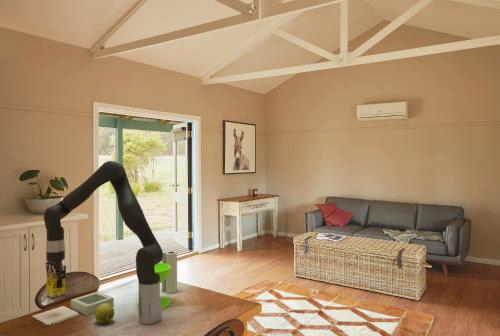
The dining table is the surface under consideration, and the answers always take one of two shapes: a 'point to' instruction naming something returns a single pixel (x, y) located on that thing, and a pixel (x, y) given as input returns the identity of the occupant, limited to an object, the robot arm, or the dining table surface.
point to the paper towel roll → (171, 280)
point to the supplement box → (54, 286)
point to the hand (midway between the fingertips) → (56, 286)
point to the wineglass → (163, 272)
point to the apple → (104, 313)
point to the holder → (84, 302)
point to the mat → (56, 315)
